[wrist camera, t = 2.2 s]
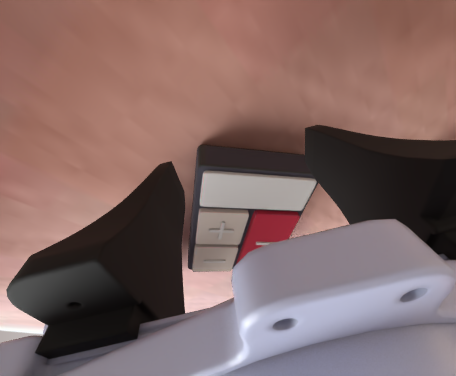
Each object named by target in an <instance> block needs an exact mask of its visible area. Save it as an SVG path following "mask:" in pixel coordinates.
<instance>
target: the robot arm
mask: <svg viewBox="0 0 456 376" xmlns="http://www.w3.org/2000/svg"><path fill="white" fill-rule="evenodd" d="M305 163H306V165H307V166H308V168H309V170H310V172H311V173H312V175H313V176H314V178H315V179H316V180H317V181H318V183H319V184H320V185H321V186H322V187H323V189H324V190H325V191H326V192H327V193H328V195H329V196H330V197H331V198H332V199H333V201H334V202H335V203H336V204H337V206H338V207H339V208H340V210H341V211H342V213H343V214H344V216H345V217H346V219H347V221H348V222H349V224H350V225H346V226H342V227H338V228H334V229H330V230H325V231H321V232H317V233H313V234H309V235H304V236H300V237H296V238H292V239H287V240H283V241H279V242H275V243H271V244H267V245H265V246H262V247H260V248H258V249H255V250H253V251H250V252H248V253H247V254H246V255H245V256H244V257H243V258H242V259H241V260H240V261H239V262H238V263H237V264H236V265H235V266H234V267H233V273H232V287H233V294H234V298H232V299H229V300H227V301H225V302H222V303H220V304H218V305H216V306H213V307H211V308H207V309H203V310H198V311H194V312H190V313H185V307H184V294H183V277H182V235H183V224H184V214H185V195H184V190H183V187H182V185H181V182H180V180H179V178H178V175H177V173H176V171H175V168H174V166H173V164H172V161H171V162H167V163H163V164H160V165H159V166H157V167H156V168H155V169H154V170H153V172H152V173H151V174H150V175H149V176H148V177H147V178H146V179H145V180H144V181H143V182H142V183H141V184H140V185H139V186H138V187H137V188H136V189H135V190H134V191H133V192H132V193H131V194H130V195H129V196H128V197H127V198H125V199H124V200H123V201H122V202H121V203H120V204H118V205H117V206H116V207H114V208H113V209H112V210H111V211H109V212H108V213H106V214H105V215H103V216H102V217H100V218H99V219H97V220H96V221H95V222H93V223H91V224H90V225H88V226H87V227H85V228H83V229H82V230H80V231H78V232H76V233H75V234H73V235H71V236H69V237H67V238H66V239H64V240H62V241H60V242H58V243H56V244H54V245H52V246H50V247H48V248H46V249H44V250H42V251H39V252H37V253H35V254H33V255H31V256H30V257H29V258H28V260H27V261H26V262H25V264H24V265H23V266H22V268H21V269H20V271H19V272H18V273H17V275H16V276H15V277H14V279H13V280H12V281H11V283H10V284H9V286H8V288H7V297H8V299H9V300H10V301H11V303H12V304H13V305H14V306H16V307H17V308H18V309H20V310H21V311H23V312H25V313H27V314H29V315H30V316H32V317H34V318H36V319H37V320H39V321H41V322H43V323H45V327H44V331H43V336H28V337H23V338H19V339H15V340H11V341H6V342H2V343H0V376H456V140H450V141H431V140H407V139H396V138H386V137H378V136H372V135H366V134H361V133H356V132H351V131H346V130H342V129H337V128H333V127H328V126H322V125H315V126H311V127H307V128H305Z"/></svg>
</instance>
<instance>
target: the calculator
mask: <svg viewBox="0 0 456 376" xmlns="http://www.w3.org/2000/svg"><path fill="white" fill-rule="evenodd" d="M317 184H318V181H317V180H316V179H315V178H314V176H313V175H312V173H311V172H310V170H309V168H308V166H307V165H306V163H305V155H299V154H289V153H279V152H269V151H259V150H249V149H239V148H229V147H219V146H208V145H200V146H199V147H198V149H197V158H196V169H195V181H194V194H193V205H192V216H191V227H190V238H189V249H188V268H189V269H191V270H192V271H193V272H211V271H231V270H232V269H233V267H234V266H235V265H236V264H237V263H238V262H239V261H240V260H241V259H242V258H243V257H244V256H245V255H246V254H247V253H248V252H250V251H253V250H255V249H258V248H260V247H262V246H265V245H267V244H271V243H275V242H279V241H283V240H287V239H289V237H290V235H291V233H292V231H293V229H294V228H295V226H296V224H297V222H298V220H299V218H300V216H301V214H302V212H303V211H304V209H305V207H306V205H307V203H308V201H309V199H310V197H311V195H312V194H313V192H314V190H315V188H316V186H317Z"/></svg>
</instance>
